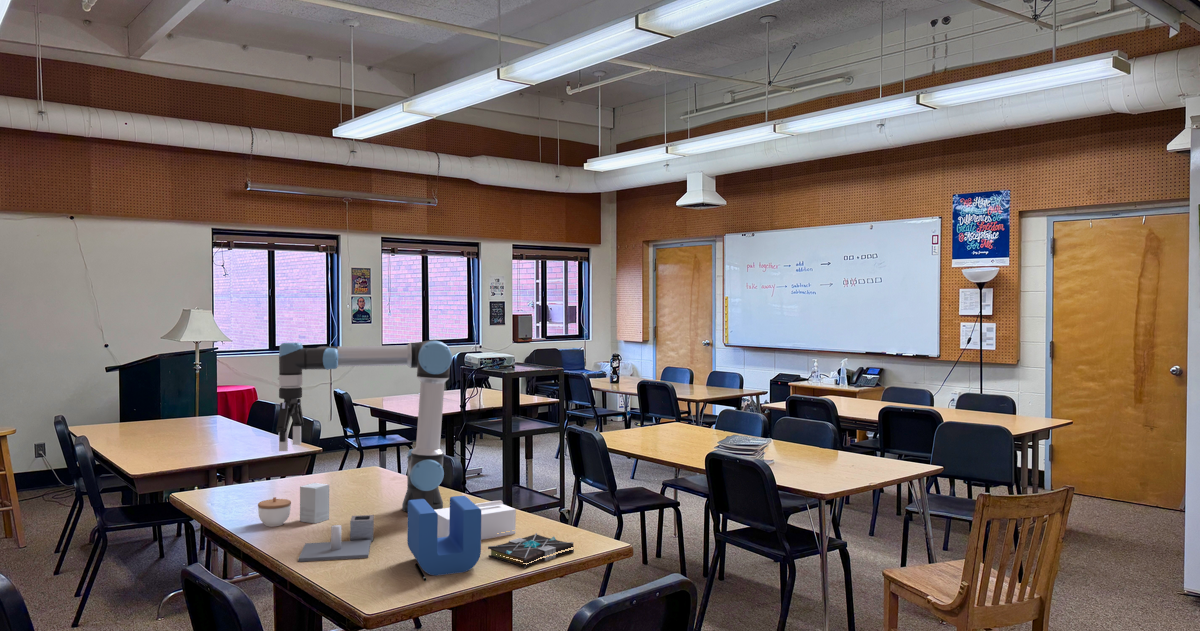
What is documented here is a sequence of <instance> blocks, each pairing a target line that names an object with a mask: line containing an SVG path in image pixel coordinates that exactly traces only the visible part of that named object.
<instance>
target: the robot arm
mask: <svg viewBox="0 0 1200 631" xmlns="http://www.w3.org/2000/svg"><path fill="white" fill-rule="evenodd" d="M452 362H453V354H452V351H451V349H450V347H449V346H448V345H447V344H446V343H444V342H443V341H441V340H435V339H430V340H425V341H418V342H409V343H408V344H406V345H347V346H328V345H323V346H322V345H321V346H317V347H312V348H307V347H306V348H305V347H304V346H303V342H302V343H301V342H282V343H281V344H280V345H279V354H278V377H277V380H278V383H279V384H278V386H279V388H278V397H279V399H282V400H283V402H280V403H279V411H278V417H277V424H276V430H275V432H276V433H278V451H279V452H288V451H289V431H288V428H289V425H290V424H289V422H290V421H291V420H292V424H293V426H292V445H294V446H296V445H297V446H298V445H299V446H300V445H302V427H303V426H305V423H304V417H303V410H302V404H301V403H302V402H301V399H302V398H303V387H302V386H303V371H305V370H327V371H330V370H336V369H337V368H338V367H342V368H343V367H388V366H389V367H390V366H391V367H392V366H395V367H396V366H398V367H399V366H407V367H409V368H410V369H417V371H416V378H417V379H418V380H419V381H420V388H419V399H418V412H417V413H418V415H417V425H416V426H417V427H416V428H417V430H416V444H415V447H414V448H411V449H409V450H408V452H407V456H406V458H407V487H406V491H405V494H404V498H403V500H402V505H401V509H402V511H403V512H405V513H408V501H409V500H416V499H425V500H426V502H427V503H428V504H429V505H430V506H431V507H432V508H433V509H434V510H436V509H443V508H444V501H443V498H442V495H441V491H440V488H439V486H440V484H442V482H443V480H444V475H445V472H444V468H443V467H444V457H445V456H444V454H445V453H444V451H443V449H441V438H442V436H441V435H442V423H443V422H442V421H443V407H444V396H445V383H446V382H447V381H448V380H449V379H450V369H451V365H452Z"/></svg>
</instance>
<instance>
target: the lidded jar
mask: <svg viewBox="0 0 1200 631" xmlns="http://www.w3.org/2000/svg"><path fill="white" fill-rule="evenodd" d="M291 503H292V501H291V500H289V499H287V498H277V497H273V498H272V499H266V500H262V501H260V502H258V504H257V507H258V508H257V509H258V510H257V511H258V518H259V520H260V522H262V524H264V526H265V527H271V528H273V527H279V526H283V525H284V524H285V523H286V521H287V520H288V518H289V517H290V514H291V505H292V504H291Z"/></svg>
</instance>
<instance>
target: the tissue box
mask: <svg viewBox="0 0 1200 631" xmlns="http://www.w3.org/2000/svg"><path fill="white" fill-rule="evenodd" d="M474 504H475V505H476V506H477V507H479V508H480V509H481V541H482V540H488V539H493V538H494V539H495V538H499V537H504V536H505V537H506V536H510V535H511V536H512V535H516V521H517V518H516V515H517V514H516V512H517V509H516V508H514V507H511V506H509V505H507V504H504V502H503V501H502V500H501V499H500V500H492V501H485V502H479V503H474ZM435 512H436V513H437V514H438V536H437V538H440V537H448V536H449V525H450V507H443V509H436V510H435ZM512 530H515V531H512ZM506 531H510V532H506ZM501 532H505V533H501ZM497 533H499V534H497Z"/></svg>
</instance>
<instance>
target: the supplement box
mask: <svg viewBox="0 0 1200 631" xmlns="http://www.w3.org/2000/svg"><path fill="white" fill-rule="evenodd" d="M327 520H330V484H327V483H318V482H312V483H309V484H308V483H307V484H304V485H301V486H300V487H299V521H300V522H302V523H303V522H304V523H309V524H317V523H321V522H324V521H327Z"/></svg>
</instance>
